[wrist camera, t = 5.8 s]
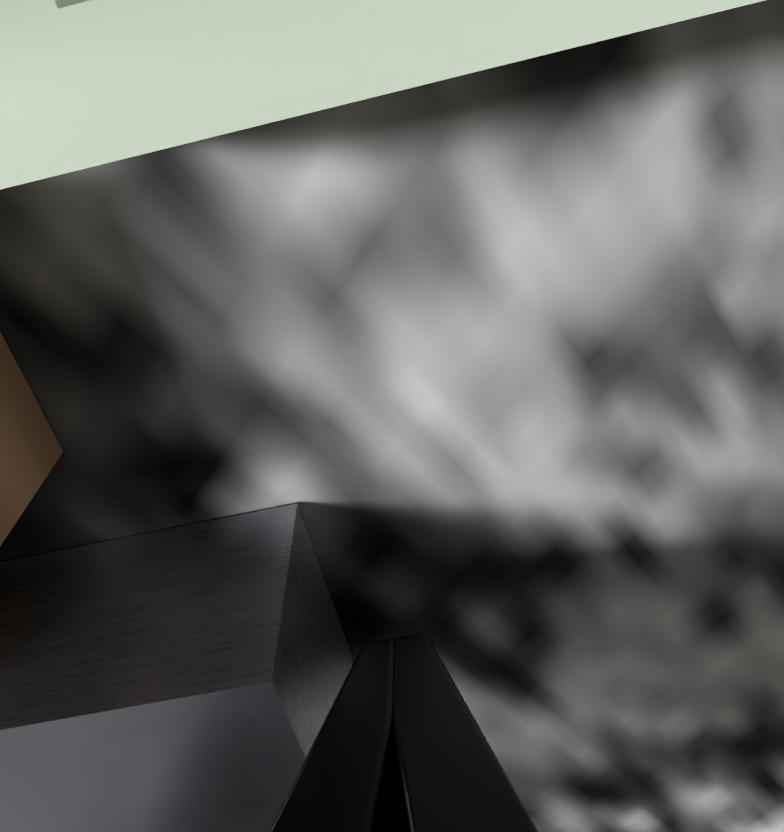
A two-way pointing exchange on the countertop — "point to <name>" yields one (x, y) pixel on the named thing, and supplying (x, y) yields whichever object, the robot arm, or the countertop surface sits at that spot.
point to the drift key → (165, 677)
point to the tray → (255, 63)
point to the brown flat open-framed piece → (21, 443)
